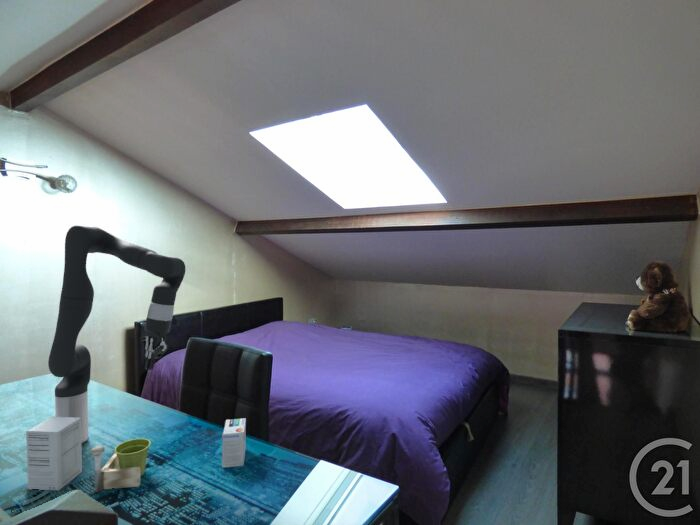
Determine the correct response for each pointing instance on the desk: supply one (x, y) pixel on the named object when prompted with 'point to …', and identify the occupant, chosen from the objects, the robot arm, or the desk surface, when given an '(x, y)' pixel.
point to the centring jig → (113, 472)
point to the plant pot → (133, 453)
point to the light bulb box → (234, 443)
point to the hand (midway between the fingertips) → (148, 369)
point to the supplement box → (54, 453)
